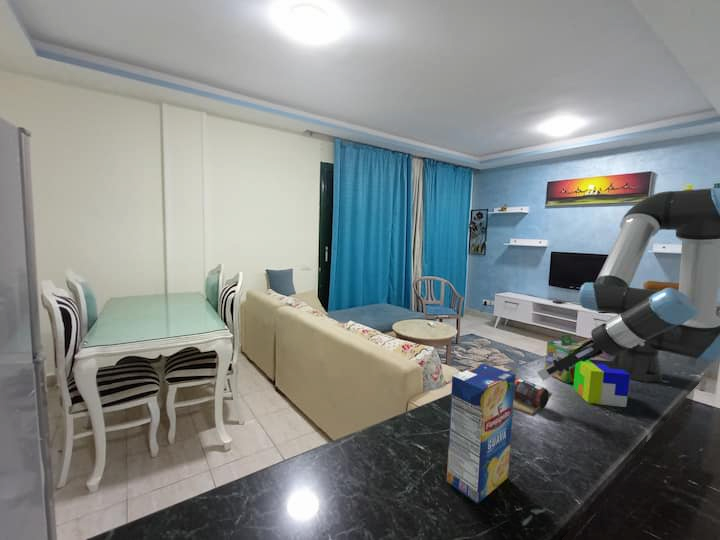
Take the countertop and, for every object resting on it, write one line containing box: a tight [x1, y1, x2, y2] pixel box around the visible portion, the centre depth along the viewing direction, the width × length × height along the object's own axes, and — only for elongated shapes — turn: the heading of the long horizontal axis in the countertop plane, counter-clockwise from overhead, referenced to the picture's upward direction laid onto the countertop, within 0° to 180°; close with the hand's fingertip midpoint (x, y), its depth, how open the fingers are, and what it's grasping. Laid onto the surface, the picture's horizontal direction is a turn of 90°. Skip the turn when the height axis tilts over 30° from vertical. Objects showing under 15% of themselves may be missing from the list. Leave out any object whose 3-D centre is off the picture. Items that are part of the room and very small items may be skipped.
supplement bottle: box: [514, 377, 550, 410], centre depth 96 cm, size 6×6×11 cm
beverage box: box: [446, 363, 516, 505], centre depth 65 cm, size 7×11×22 cm, turn 128°
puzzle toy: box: [572, 358, 630, 408], centre depth 101 cm, size 10×10×10 cm
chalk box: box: [544, 333, 581, 384], centre depth 115 cm, size 9×9×15 cm
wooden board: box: [513, 390, 552, 416], centre depth 101 cm, size 18×12×1 cm, turn 136°
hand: (541, 375), depth 95 cm, fingers closed
